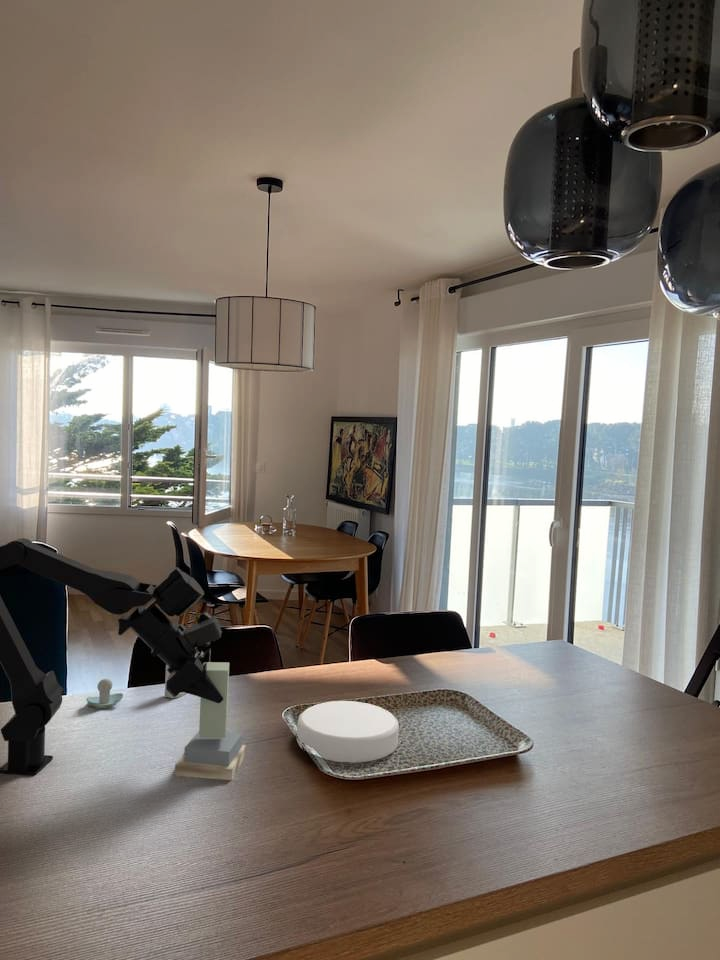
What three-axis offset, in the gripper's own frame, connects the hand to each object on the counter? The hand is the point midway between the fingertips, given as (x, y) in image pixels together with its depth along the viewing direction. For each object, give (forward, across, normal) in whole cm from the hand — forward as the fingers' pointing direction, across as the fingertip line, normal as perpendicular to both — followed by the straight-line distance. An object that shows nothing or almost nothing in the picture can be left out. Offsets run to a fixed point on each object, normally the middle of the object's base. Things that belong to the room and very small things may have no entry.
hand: (222, 696), depth 128 cm
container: (+26, +10, -8) cm, 29 cm away
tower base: (+8, 0, +10) cm, 13 cm away
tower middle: (+7, 0, +8) cm, 11 cm away
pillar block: (+4, 0, +6) cm, 7 cm away
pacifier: (-9, +28, +28) cm, 41 cm away
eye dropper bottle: (+1, +35, +17) cm, 39 cm away
